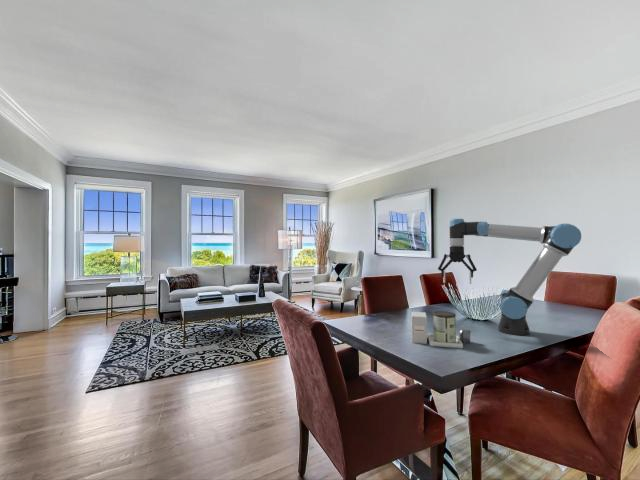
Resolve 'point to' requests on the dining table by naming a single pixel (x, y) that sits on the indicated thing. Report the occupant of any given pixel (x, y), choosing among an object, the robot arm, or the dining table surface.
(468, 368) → the dining table surface
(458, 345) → the tray
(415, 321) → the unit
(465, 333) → the cartridge
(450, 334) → the coffee can
